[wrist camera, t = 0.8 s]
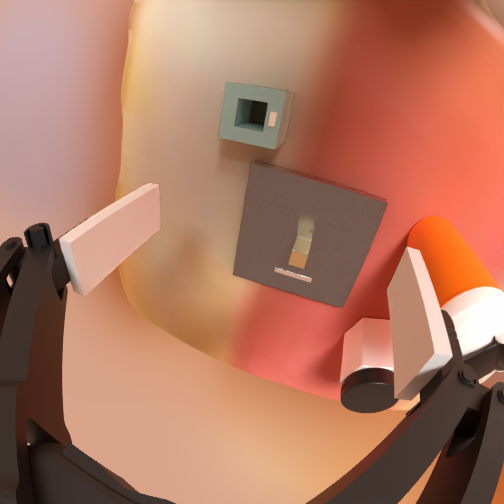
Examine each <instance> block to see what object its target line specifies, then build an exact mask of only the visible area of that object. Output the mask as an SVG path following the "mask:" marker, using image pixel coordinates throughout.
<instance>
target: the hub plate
mask: <svg viewBox="0 0 504 504" xmlns="http://www.w3.org/2000/svg"><path fill="white" fill-rule="evenodd" d="M386 206H387V202H386V199H383V198H380V197H377V196H375V195H372V194H369V193H366V192H363V191H360V190H357V189H354V188H351V187H347V186H344V185H341V184H338V183H335V182H331V181H328V180H325V179H321V178H318V177H314V176H311V175H307V174H304V173H300V172H296V171H293V170H289V169H285V168H281V167H277V166H273V165H269V164H265V163H261V162H257V161H254V162H253V163H252V164H251V168H250V174H249V180H248V185H247V191H246V197H245V203H244V210H243V216H242V222H241V228H240V234H239V240H238V247H237V253H236V259H235V266H234V272H233V275H236V276H239V277H243V278H246V279H249V280H252V281H255V282H258V283H261V284H264V285H268V286H271V287H274V288H277V289H280V290H284V291H287V292H290V293H293V294H297V295H300V296H303V297H306V298H310V299H313V300H316V301H320V302H323V303H326V304H330V305H333V306H336V307H340V308H343V306H344V304H345V302H346V300H347V298H348V295H349V293H350V291H351V289H352V287H353V285H354V283H355V281H356V278H357V276H358V274H359V272H360V270H361V267H362V265H363V263H364V261H365V258H366V256H367V254H368V251H369V249H370V247H371V244H372V242H373V239H374V237H375V235H376V232H377V230H378V227H379V225H380V222H381V219H382V217H383V214H384V212H385V209H386Z"/></svg>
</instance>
